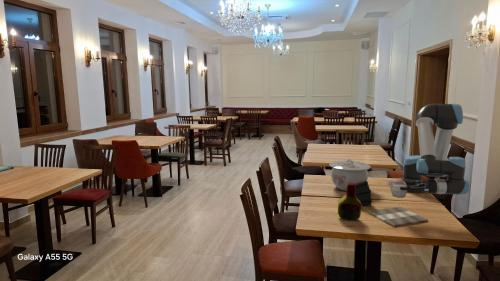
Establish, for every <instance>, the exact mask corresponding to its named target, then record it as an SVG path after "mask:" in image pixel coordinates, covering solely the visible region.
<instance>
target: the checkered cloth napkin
mask: <svg viewBox="0 0 500 281" xmlns="http://www.w3.org/2000/svg"><path fill="white" fill-rule="evenodd" d="M367 213H368V214H369V215H371V216H373V217H374V218H377V219H378V220H380V221H382V222H384V223H385V224H387V225H388V226H390V227H393V228H395V227H401V226H408V225H413V224H414V225H415V224H421V223H426V222H429V219H427V217H426V218H425V217H423V216H421V215H419V214H418V213H414V212H412V211H410V210H408V209H406V208H405V207H402V206H396V207H388V208H382V209H381V208H379V209H374V210H373V209H372V210H368V211H367Z"/></svg>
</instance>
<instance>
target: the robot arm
mask: <svg viewBox="0 0 500 281" xmlns="http://www.w3.org/2000/svg"><path fill="white" fill-rule="evenodd" d="M414 120H415V121H414V122H415V123H414V124H415V126H416V127H417V133H418V147H419V155H409V156H406V157H404V160H403V171H402V172H403V174H402V178H401V179H402V180H403V181H404V182H405V183H406V184H407V186H405V185H393V191H406V190H407V192H406V193H410V194H411V193H412V194H413V193H414V194H419V193H420V194H421V193H427V194H437V195H443V194H444V195H467V194H468V193H469V191H470V183H469V182H468V180H466V179H465V175H466V174H465V172H466V159H465V158H463V157H461V156H450V157H447V156H448V153H449V150H450V149H449V148H450V145H451V140H452V136H453V133H454V130H455V129H456V128H458V125H462V124H463V122H464V114H463V107H462V106H461V105H460V104H457V103H428V104H426V105H424V106H423V107H421V108H420V109H419V110H418V112H417V114H416V115H415V119H414ZM434 124H435V127H436V131H435V136H434V129H433V128H434V127H433V126H434ZM423 176H424V177H438V178H436V179H434V178H427V179H426V180H425V181H424V182H423ZM445 177H446V179H442V178H445ZM439 178H440V179H439ZM395 180H396V179H387V184H386V185H388V186H392V183H393V182H394V181H395Z"/></svg>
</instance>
